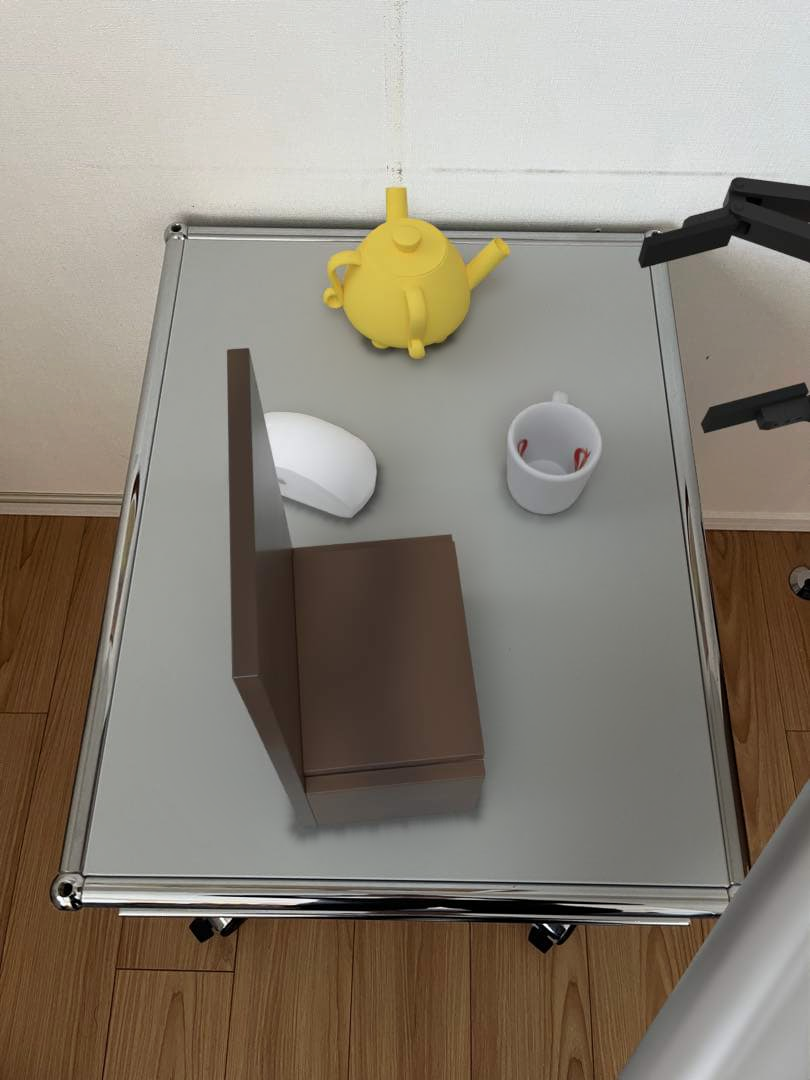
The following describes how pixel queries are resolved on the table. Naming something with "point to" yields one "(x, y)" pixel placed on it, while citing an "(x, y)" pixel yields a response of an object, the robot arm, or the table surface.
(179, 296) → the table surface
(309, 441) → the computer mouse
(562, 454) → the cup
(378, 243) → the teapot
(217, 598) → the table surface
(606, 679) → the table surface
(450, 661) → the wooden chair
